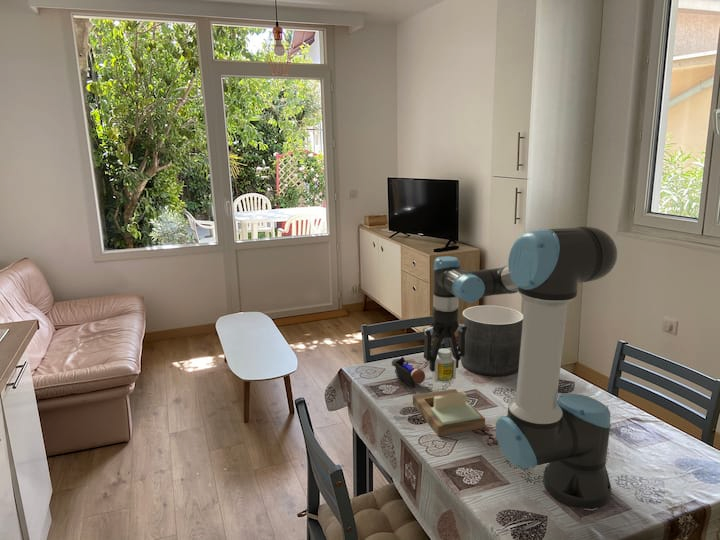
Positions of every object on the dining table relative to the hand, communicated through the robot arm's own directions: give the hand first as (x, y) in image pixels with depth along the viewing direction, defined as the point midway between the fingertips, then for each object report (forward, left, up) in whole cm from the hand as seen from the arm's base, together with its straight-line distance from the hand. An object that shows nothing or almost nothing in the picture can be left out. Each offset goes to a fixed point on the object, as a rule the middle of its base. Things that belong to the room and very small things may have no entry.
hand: (443, 378), depth 160 cm
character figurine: (+23, +3, -11) cm, 26 cm away
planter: (+27, -32, -11) cm, 43 cm away
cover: (-8, 0, -8) cm, 11 cm away
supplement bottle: (0, 0, -1) cm, 1 cm away
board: (-3, 0, -11) cm, 11 cm away
